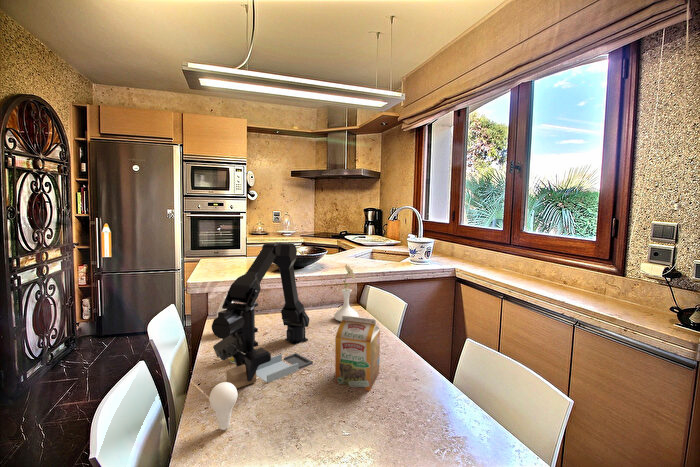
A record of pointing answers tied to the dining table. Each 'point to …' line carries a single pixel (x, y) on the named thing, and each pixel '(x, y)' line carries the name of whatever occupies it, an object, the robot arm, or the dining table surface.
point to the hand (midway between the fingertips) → (245, 377)
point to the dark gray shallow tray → (298, 360)
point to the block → (239, 376)
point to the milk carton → (357, 352)
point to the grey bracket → (275, 369)
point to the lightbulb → (223, 402)
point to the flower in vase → (346, 300)
